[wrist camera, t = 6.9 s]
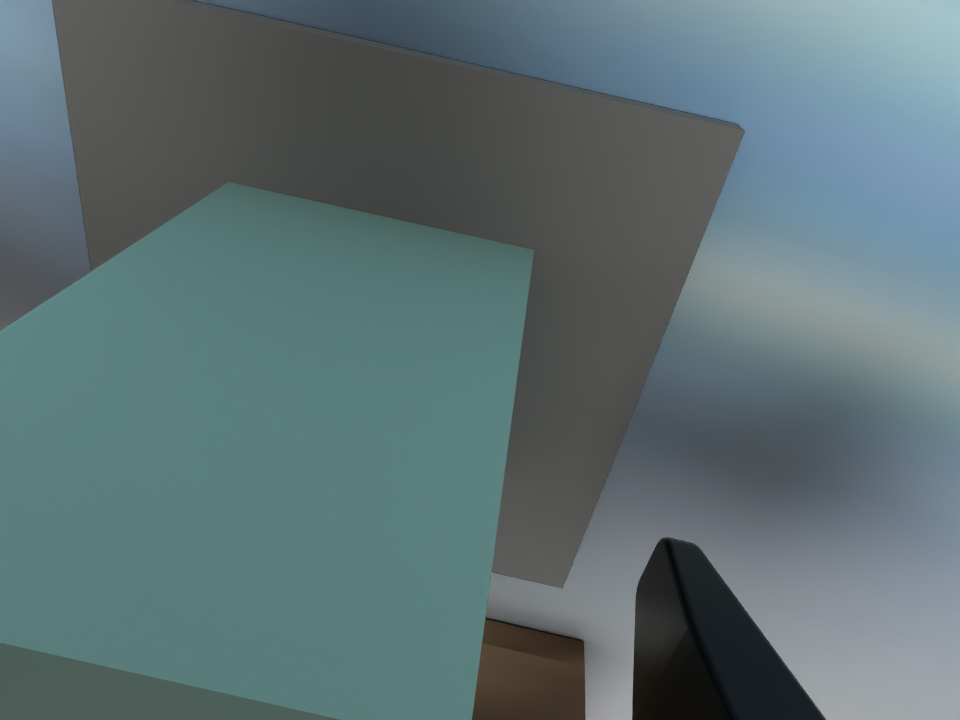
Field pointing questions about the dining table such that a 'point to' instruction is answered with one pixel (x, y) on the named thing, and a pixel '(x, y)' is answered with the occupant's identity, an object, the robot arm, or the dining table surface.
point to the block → (258, 469)
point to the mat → (419, 199)
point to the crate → (529, 675)
